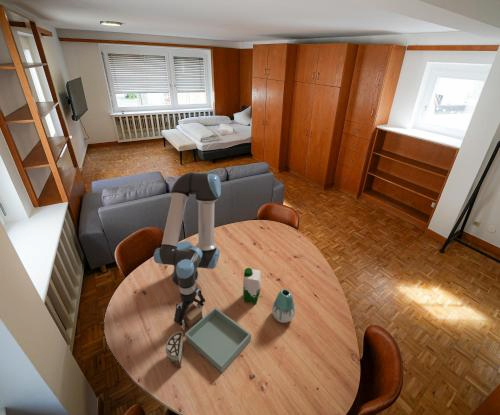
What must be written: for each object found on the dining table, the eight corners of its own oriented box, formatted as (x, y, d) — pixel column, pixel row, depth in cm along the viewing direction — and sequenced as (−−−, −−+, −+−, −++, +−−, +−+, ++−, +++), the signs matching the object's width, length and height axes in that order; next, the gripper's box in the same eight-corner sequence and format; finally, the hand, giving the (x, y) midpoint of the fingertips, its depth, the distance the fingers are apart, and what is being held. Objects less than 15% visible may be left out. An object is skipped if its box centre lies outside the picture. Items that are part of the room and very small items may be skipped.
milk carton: (245, 290, 153) (245, 264, 143) (260, 293, 151) (262, 266, 142) (241, 302, 145) (242, 275, 136) (258, 305, 144) (259, 278, 134)
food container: (170, 344, 123) (167, 331, 118) (184, 343, 124) (181, 330, 119) (165, 372, 113) (162, 358, 108) (180, 371, 113) (177, 357, 108)
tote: (185, 340, 125) (184, 333, 123) (215, 313, 139) (215, 307, 136) (221, 373, 113) (221, 366, 110) (250, 340, 126) (251, 334, 124)
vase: (295, 311, 142) (299, 286, 133) (291, 329, 132) (295, 304, 123) (274, 304, 145) (277, 280, 136) (268, 322, 135) (271, 297, 126)
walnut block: (180, 320, 135) (178, 309, 131) (191, 311, 140) (189, 301, 136) (192, 330, 130) (190, 320, 126) (202, 321, 135) (201, 310, 131)
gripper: (172, 309, 114) (177, 341, 125) (211, 279, 130) (213, 310, 140) (161, 300, 118) (168, 332, 129) (200, 272, 134) (203, 302, 144)
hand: (191, 320), depth 135 cm, fingers open, 10 cm apart
